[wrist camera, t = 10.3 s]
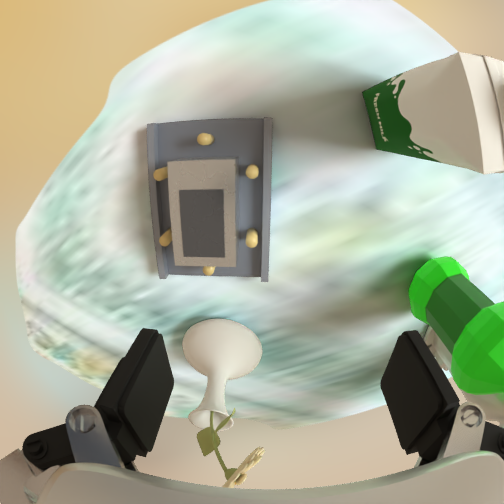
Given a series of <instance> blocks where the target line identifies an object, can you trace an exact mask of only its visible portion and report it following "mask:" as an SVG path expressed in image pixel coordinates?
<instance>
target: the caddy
mask: <svg viewBox="0 0 504 504" xmlns="http://www.w3.org/2000/svg"><path fill="white" fill-rule="evenodd" d="M147 153H148V174H149V190H150V203H151V214H152V224H153V233H154V242H155V250H156V257H157V264H158V271H159V278H160V279H166V278H167V276H168V275H169V274H172V275H201V276H241V277H261V282H268V272H269V244H270V212H271V171H272V118H264V119H208V120H192V121H179V122H169V123H160V124H156V123H151V124H147ZM195 157H239V232H240V246H239V252H238V258H237V263H236V267H210V266H175V260H174V251H173V241H172V230H171V218H170V204H169V188H168V166H167V162H169V161H173V160H177V159H181V158H195Z"/></svg>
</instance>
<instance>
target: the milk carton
mask: <svg viewBox="0 0 504 504" xmlns="http://www.w3.org/2000/svg"><path fill="white" fill-rule="evenodd" d="M362 93H363V97H364V100H365V104H366V107H367V111H368V115H369V119H370V123H371V127H372V131H373V136H374V140H375V145H376V149H377V150H382V151H387V152H392V153H397V154H401V155H406V156H411V157H416V158H420V159H425V160H430V161H435V162H440V163H444V164H449V165H453V166H457V167H462V168H467V169H470V170H473V171H476V172H479V173H482V174H490V173H504V61H501V60H498V59H494V58H492V57H489V56H484V55H477V54H467V53H462V52H458V53H456V54H454V55H451V56H449V57H447V58H445V59H441V60H437V61H434V62H431V63H428V64H425V65H422V66H420V67H417V68H414V69H411V70H409V71H406V72H404V73H401V74H399V75H397V76H394V77H392V78H390V79H388V80H386V81H384V82H382V83H380V84H378V85H376V86H374V87H372V88H370V89H368V90H366V91H364V92H362Z"/></svg>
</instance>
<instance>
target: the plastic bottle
mask: <svg viewBox="0 0 504 504" xmlns="http://www.w3.org/2000/svg"><path fill="white" fill-rule="evenodd" d="M408 292H409V299H410V305H411V312H412V314H413V315H414V316H415V317H416V318H417V319H419V320H421V321H423V322H424V323H426V324H428V325H430V326H431V327H432V329H433V330H434V331H435V333H436V334H437V335H438V337H439V338H440V339H441V341H442V342H443V344H444V345H445V346H446V348H447V349H448V351H449V352H450V353H451V355H452V362H451V372H452V376H453V379H454V381H455V382H456V384H457V386H458V387H459V388H460V389H462V390H463V391H465V392H466V393H469V394H474V395H488V394H496V393H502V392H503V393H504V302H500V303H497V304H494V303H493V302H492V301H491V300H490V299H489V298H488V297H487V296H486V295H485V294H484V293H483V292H481V291H480V290H479V289H478V288H477V287H476V286H475V285H474V284H472V283H471V282H470V281H469V276H468V274H467V272H466V270H465V269H464V268H463V267H462V266H461V265H460V264H459V263H458V262H457V261H456V260H454V259H453V258H452V257H446V256H445V257H440V258H434V259H430V260H428V261H427V262H426V263H425V264H424V265H423V266H422V267H421V268H420V269H419V270H418V271H416V273H415V275H414V278H413V280H412V283H411V285H410V287H409V290H408Z"/></svg>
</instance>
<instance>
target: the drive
mask: <svg viewBox="0 0 504 504" xmlns="http://www.w3.org/2000/svg"><path fill="white" fill-rule="evenodd" d="M167 166H168V188H169V204H170V218H171V230H172V241H173V251H174V260H175V266H210V267H236V263H237V258H238V252H239V246H240V232H239V157H195V158H181V159H177V160H173V161H169V162H167Z"/></svg>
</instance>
